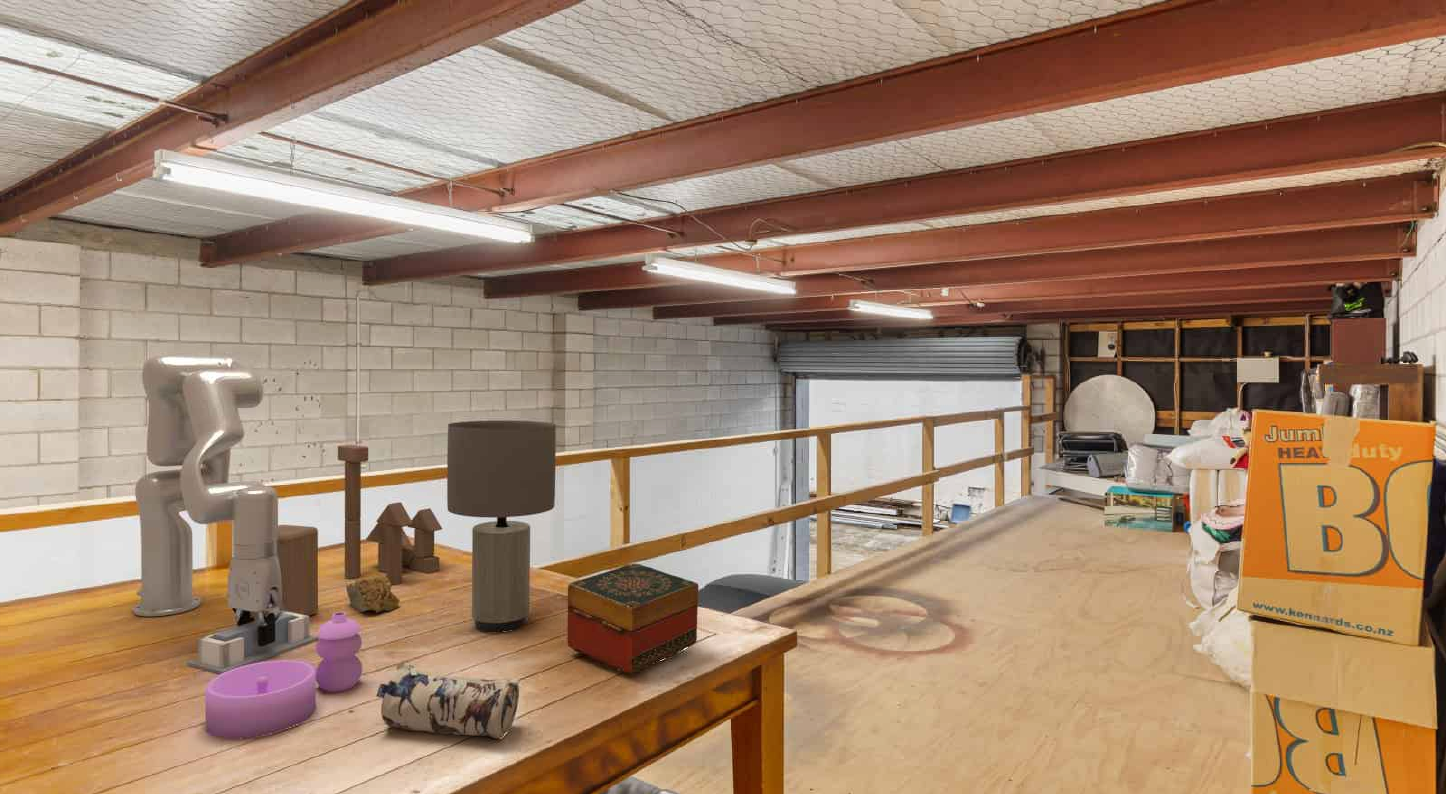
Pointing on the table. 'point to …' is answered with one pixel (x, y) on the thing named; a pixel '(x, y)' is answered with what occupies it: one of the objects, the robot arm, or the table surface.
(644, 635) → the decorative box
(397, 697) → the pencil case
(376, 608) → the rock
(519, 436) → the lamp
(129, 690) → the table surface
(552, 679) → the table surface
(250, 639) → the blue-grey rectangular bar
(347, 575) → the building blocks
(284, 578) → the wooden block
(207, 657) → the endcap board
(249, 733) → the container set
